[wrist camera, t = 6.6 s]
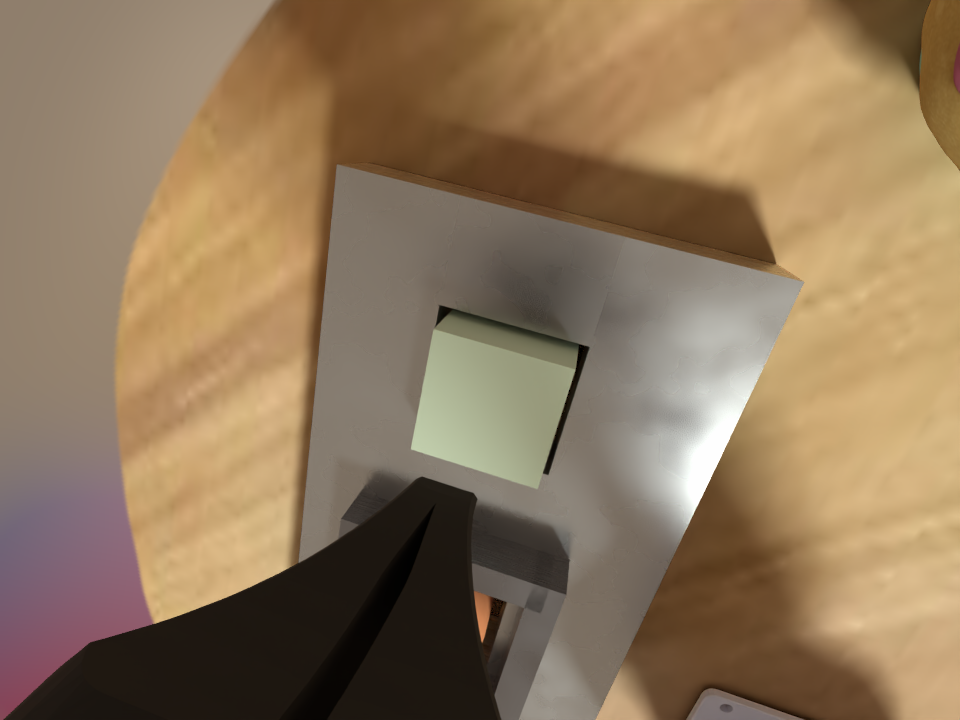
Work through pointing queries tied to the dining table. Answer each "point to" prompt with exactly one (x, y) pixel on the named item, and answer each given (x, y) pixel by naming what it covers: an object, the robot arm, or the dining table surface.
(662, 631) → the dining table surface
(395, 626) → the robot arm
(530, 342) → the pale green block
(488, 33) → the dining table surface
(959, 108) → the cupcake
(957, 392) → the dining table surface
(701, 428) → the control box
